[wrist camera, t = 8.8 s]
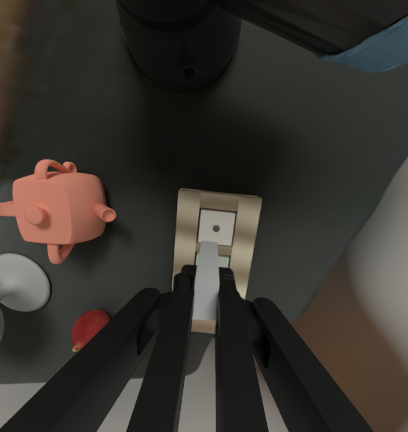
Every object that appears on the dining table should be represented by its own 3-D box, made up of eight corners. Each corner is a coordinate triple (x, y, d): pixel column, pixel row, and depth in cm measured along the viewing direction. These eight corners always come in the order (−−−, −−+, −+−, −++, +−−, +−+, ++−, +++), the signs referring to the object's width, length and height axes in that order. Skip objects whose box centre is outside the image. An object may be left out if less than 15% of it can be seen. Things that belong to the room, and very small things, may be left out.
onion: (125, 313, 36) (101, 352, 28) (106, 330, 37) (78, 372, 29) (101, 294, 35) (70, 328, 28) (83, 311, 36) (48, 350, 29)
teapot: (137, 206, 31) (105, 222, 22) (88, 248, 33) (40, 278, 24) (86, 148, 29) (27, 138, 20) (38, 196, 31) (-37, 207, 22)
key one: (202, 206, 30) (201, 210, 27) (233, 209, 30) (235, 213, 27) (199, 235, 32) (197, 242, 28) (229, 238, 31) (231, 246, 28)
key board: (181, 188, 30) (178, 190, 27) (257, 196, 30) (262, 198, 27) (172, 315, 36) (169, 328, 33) (236, 323, 36) (238, 336, 33)
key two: (198, 246, 32) (196, 255, 29) (227, 250, 32) (229, 258, 29) (195, 273, 33) (193, 283, 30) (223, 276, 33) (225, 287, 30)
